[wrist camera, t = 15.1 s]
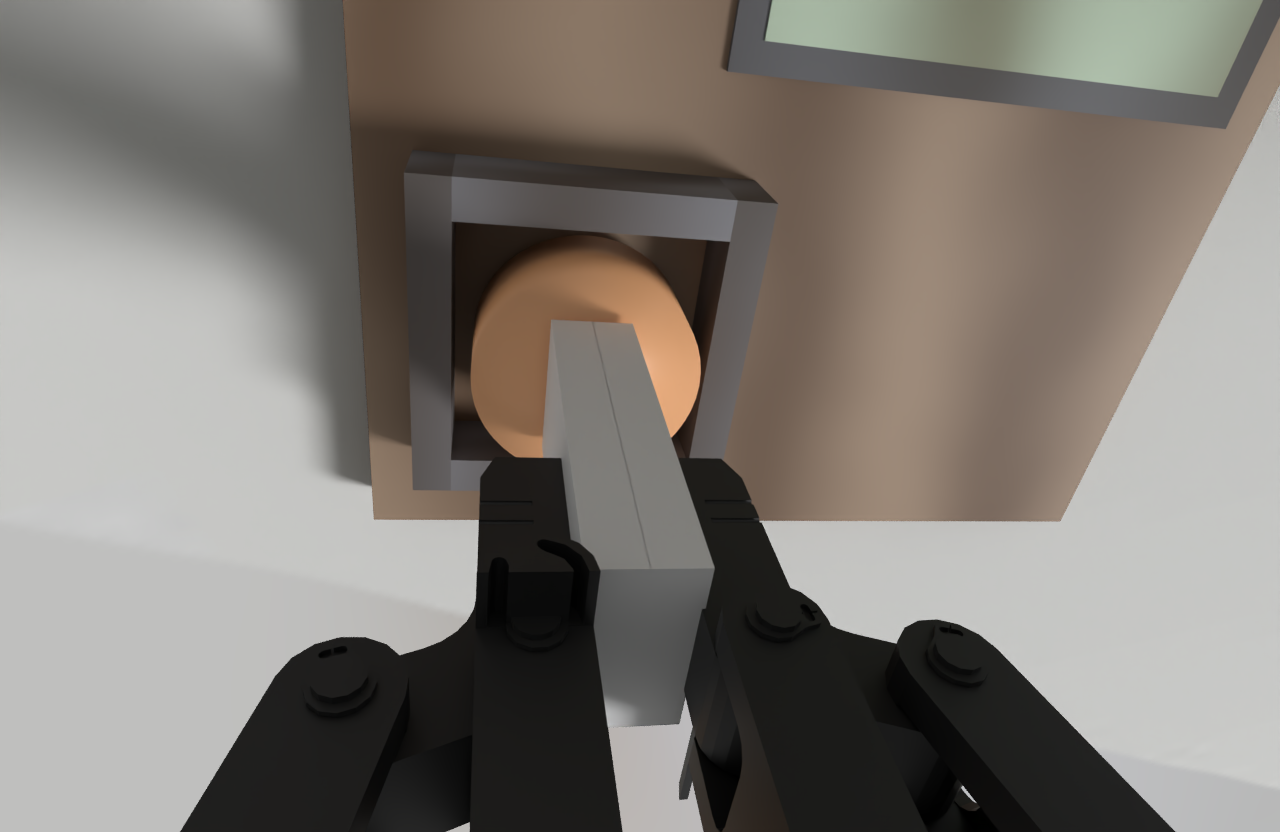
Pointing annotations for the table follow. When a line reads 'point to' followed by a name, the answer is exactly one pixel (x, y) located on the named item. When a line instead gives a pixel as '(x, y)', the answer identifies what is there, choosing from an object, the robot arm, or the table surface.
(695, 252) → the picture board
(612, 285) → the button
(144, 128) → the table surface
